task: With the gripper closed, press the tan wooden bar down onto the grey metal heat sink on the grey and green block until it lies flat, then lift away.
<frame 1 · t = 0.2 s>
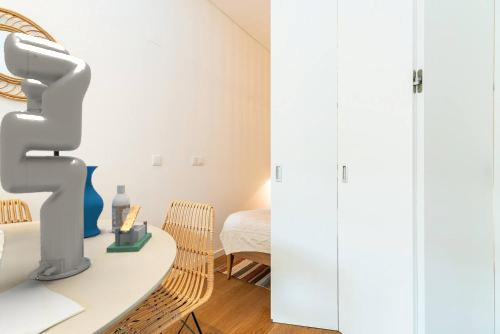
hand: (40, 158, 97), 31 cm above the table, tool pointing down, fingers open, 9 cm apart
tan wooden bar: (130, 218, 88), point 9 cm above the table, hinge at 30.0°
bath foam: (121, 231, 104), on the table
vase: (86, 235, 99), on the table
grey and green block: (131, 243, 88), on the table
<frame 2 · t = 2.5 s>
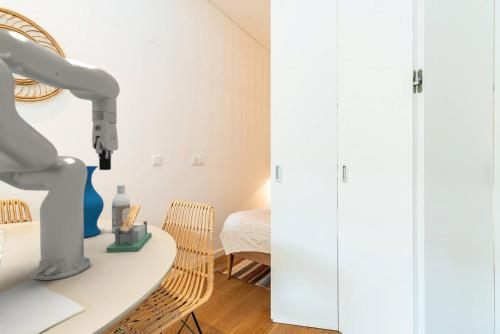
hand: (105, 169, 87), 27 cm above the table, tool pointing down, fingers closed
nothing on the table moved.
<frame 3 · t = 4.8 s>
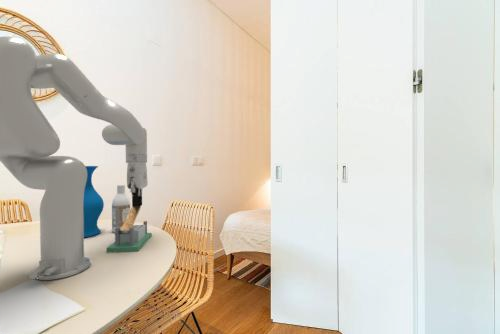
hand: (137, 205, 94), 13 cm above the table, tool pointing down, fingers closed
tan wooden bar: (130, 219, 88), point 9 cm above the table, hinge at 28.4°, touching gripper
everything else where it was.
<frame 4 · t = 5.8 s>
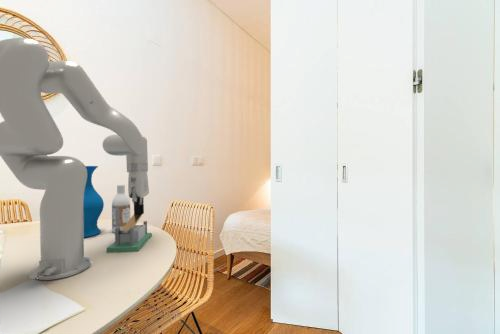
hand: (139, 214, 95), 9 cm above the table, tool pointing down, fingers closed
tan wooden bar: (131, 223, 88), point 7 cm above the table, hinge at 12.3°, touching gripper
everything else where it was.
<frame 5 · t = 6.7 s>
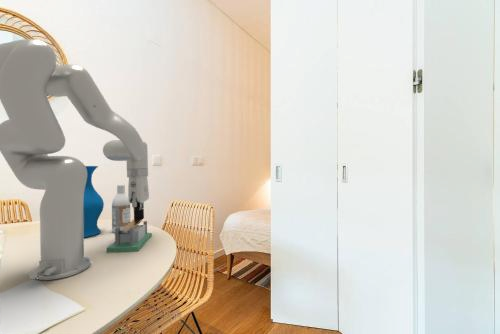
hand: (139, 219, 95), 7 cm above the table, tool pointing down, fingers closed
tan wooden bar: (131, 225, 89), point 6 cm above the table, hinge at 4.0°, touching gripper
everything else where it was.
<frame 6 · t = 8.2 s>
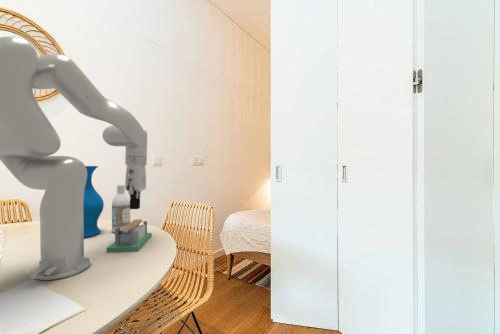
hand: (134, 208, 93), 12 cm above the table, tool pointing down, fingers closed
tan wooden bar: (131, 226, 89), point 6 cm above the table, hinge at 2.9°
everything else where it was.
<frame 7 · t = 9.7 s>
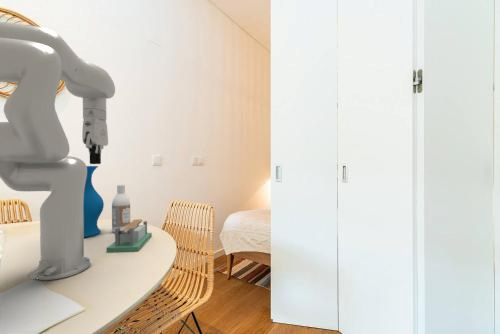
hand: (95, 163, 92), 29 cm above the table, tool pointing down, fingers closed
nothing on the table moved.
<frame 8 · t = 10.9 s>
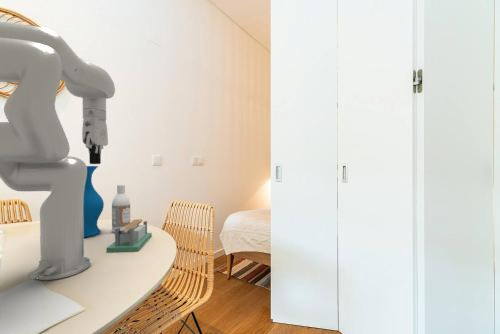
hand: (95, 163, 92), 29 cm above the table, tool pointing down, fingers closed
nothing on the table moved.
at the end: tan wooden bar at +3° (first picture: +30°); tan wooden bar touching nothing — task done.
